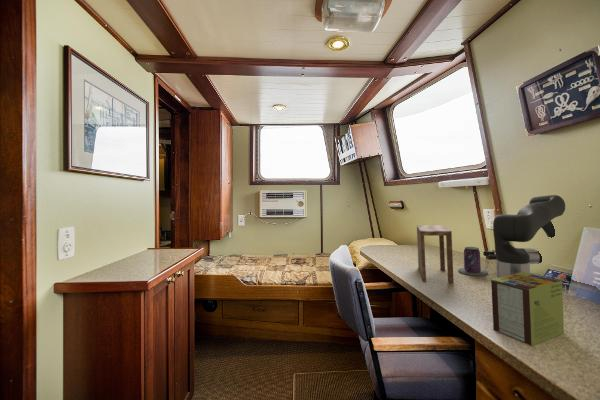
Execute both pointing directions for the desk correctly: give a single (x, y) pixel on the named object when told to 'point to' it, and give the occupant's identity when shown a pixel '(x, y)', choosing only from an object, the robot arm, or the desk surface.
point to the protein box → (527, 307)
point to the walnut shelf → (441, 232)
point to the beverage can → (472, 259)
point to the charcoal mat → (480, 273)
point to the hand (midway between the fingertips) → (486, 255)
